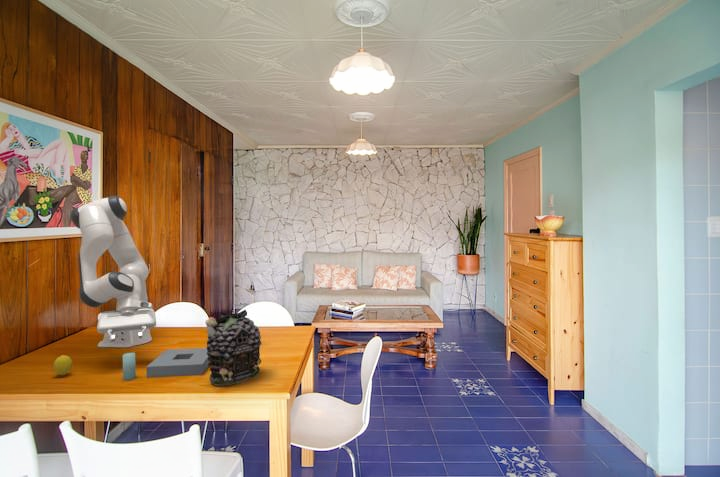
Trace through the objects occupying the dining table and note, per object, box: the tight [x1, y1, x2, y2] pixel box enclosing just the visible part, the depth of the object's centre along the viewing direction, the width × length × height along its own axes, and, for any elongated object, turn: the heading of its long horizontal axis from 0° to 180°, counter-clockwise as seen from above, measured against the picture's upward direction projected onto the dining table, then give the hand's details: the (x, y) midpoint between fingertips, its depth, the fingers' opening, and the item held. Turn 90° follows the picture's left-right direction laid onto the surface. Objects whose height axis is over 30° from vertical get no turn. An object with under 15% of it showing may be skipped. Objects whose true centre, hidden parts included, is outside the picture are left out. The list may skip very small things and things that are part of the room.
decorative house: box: [205, 309, 263, 386], centre depth 142 cm, size 21×15×25 cm
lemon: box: [53, 354, 73, 377], centre depth 144 cm, size 6×6×8 cm
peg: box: [122, 352, 137, 381], centre depth 142 cm, size 4×4×9 cm
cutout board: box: [146, 347, 210, 378], centre depth 154 cm, size 20×20×4 cm
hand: (126, 339), depth 149 cm, fingers open, 8 cm apart
